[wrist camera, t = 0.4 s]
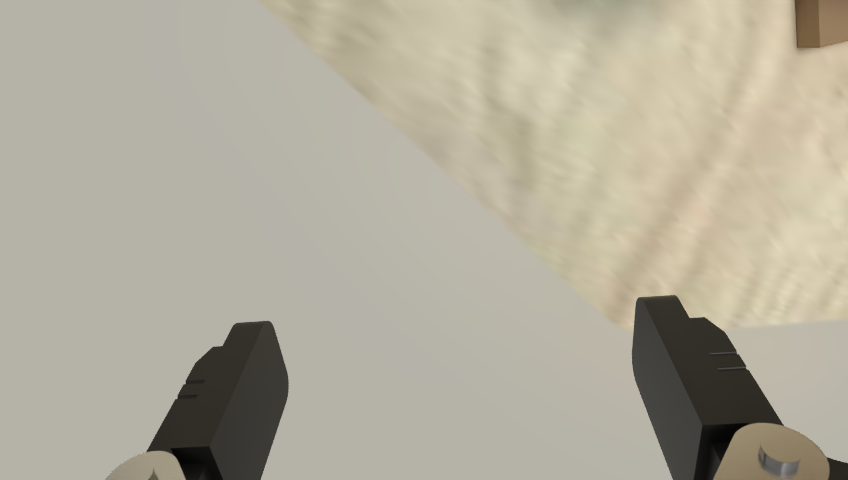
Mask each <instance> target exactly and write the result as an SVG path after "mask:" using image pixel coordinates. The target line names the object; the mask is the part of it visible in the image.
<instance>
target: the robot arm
mask: <svg viewBox="0 0 848 480" xmlns="http://www.w3.org/2000/svg"><path fill="white" fill-rule="evenodd" d="M633 335H634V336H633V348H632V364H633V371H634V376H635V380H636V383H637V386H638V388H639V391H640V394H641V397H642V399H643V402H644V404H645V407H646V410H647V412H648V415H649V418H650V420H651V423H652V426H653V428H654V431H655V433H656V436H657V439H658V441H659V444H660V447H661V449H662V452H663V455H664V457H665V460H666V462H667V465H668V467H669V470H670V473H671V476H672V478H673V480H848V463H844V462H840V461H836V460H833V459H830V458H827V457H826V456H825V455H824V453H823V452H822V450H821V449H820V448H819V447H818V446H817V445H816V444H815V443H814V442H813V441H812V440H810V439H809V438H807V437H806V436H804V435H803V434H801V433H799V432H797V431H795V430H793V429H790V428H788V427H785V426H784V425H783V424H782V422H781V421H780V419H779V417H778V416H777V414H776V413H775V411H774V409H773V408H772V406H771V405H770V403H769V402H768V400H767V398H766V397H765V395H764V394H763V392H762V390H761V389H760V387H759V386H758V384H757V382H756V381H755V379H754V378H753V376H752V375H751V373H750V371H749V370H747V369H746V365H745V364H744V362H743V360H742V359H741V357H740V356H739V355H737V352H736V349H735V348H734V346H733V344H732V343H731V341H730V340H729V338H728V336H727V335H726V333H725V332H724V331H722V330H721V329H720V328H718V327H717V326H716V325H714V324H713V323H712V322H710V321H709V320H708V319H706V318H705V317H702V318H689V316H688V315H687V313H686V311H685V309H684V308H683V306H682V304H681V302H680V300H679V299H678V297H677V296H675V295H669V296H654V297H639V298H638V299H637V302H636V308H635V321H634V334H633ZM287 397H288V374H287V370H286V367H285V364H284V361H283V357H282V353H281V350H280V346H279V343H278V340H277V337H276V333H275V330H274V327H273V325H272V323H271V322H269V321H261V322H260V321H259V322H245V323H236V324H235V325H233V327H232V329H231V331H230V333H229V335H228V337H227V339H226V340H225V343H224V344H223V346H220V347H213V348H211V349H210V350H209V351H208V352H207V353H206V354H205V355H204V356H203V357H202V358H201V359H199V360H198V361H197V362H196V363H195V365H194V367H193V369H192V370H191V372H190V374H189V376H188V378H187V380H186V384H185V385H183V387H182V389H181V390H180V392H179V394H178V399H176V400H175V401H174V403H173V405H172V406H171V409H170V410H169V412H168V414H167V416H166V417H165V419H164V421H163V423H162V425H161V426H160V428H159V430H158V432H157V434H156V435H155V437H154V439H153V441H152V443H151V445H150V446H149V448H148V450H147V452H146V453H143V454H139V455H137V456H135V457H132V458H130V459H129V460H127V461H125V462H124V463H122V464H121V465H119V466H118V467H117V468H116V469H115V470H114V471H113V472H112V473H111V474H110V475H109V476H108V477H107V478H106V480H261V476H262V473H263V471H264V468H265V464H266V461H267V458H268V455H269V452H270V449H271V446H272V443H273V440H274V437H275V434H276V431H277V428H278V425H279V422H280V419H281V416H282V413H283V410H284V407H285V404H286V401H287Z"/></svg>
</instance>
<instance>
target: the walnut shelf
mask: <svg viewBox="0 0 848 480" xmlns="http://www.w3.org/2000/svg"><path fill="white" fill-rule="evenodd" d="M795 2H796V24H797V45H798V48H820V47H824V46H828V45H832V44H836V43H840V42H844V41H848V0H795Z"/></svg>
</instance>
